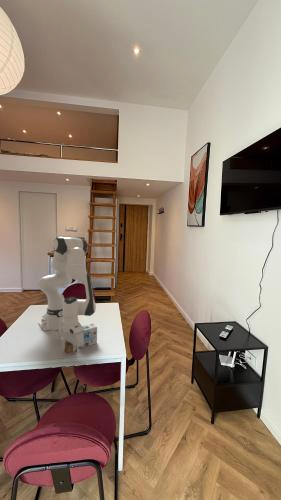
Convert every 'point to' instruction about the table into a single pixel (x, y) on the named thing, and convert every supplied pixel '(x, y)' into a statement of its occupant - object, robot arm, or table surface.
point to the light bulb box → (89, 335)
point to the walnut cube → (69, 347)
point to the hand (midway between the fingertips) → (70, 348)
